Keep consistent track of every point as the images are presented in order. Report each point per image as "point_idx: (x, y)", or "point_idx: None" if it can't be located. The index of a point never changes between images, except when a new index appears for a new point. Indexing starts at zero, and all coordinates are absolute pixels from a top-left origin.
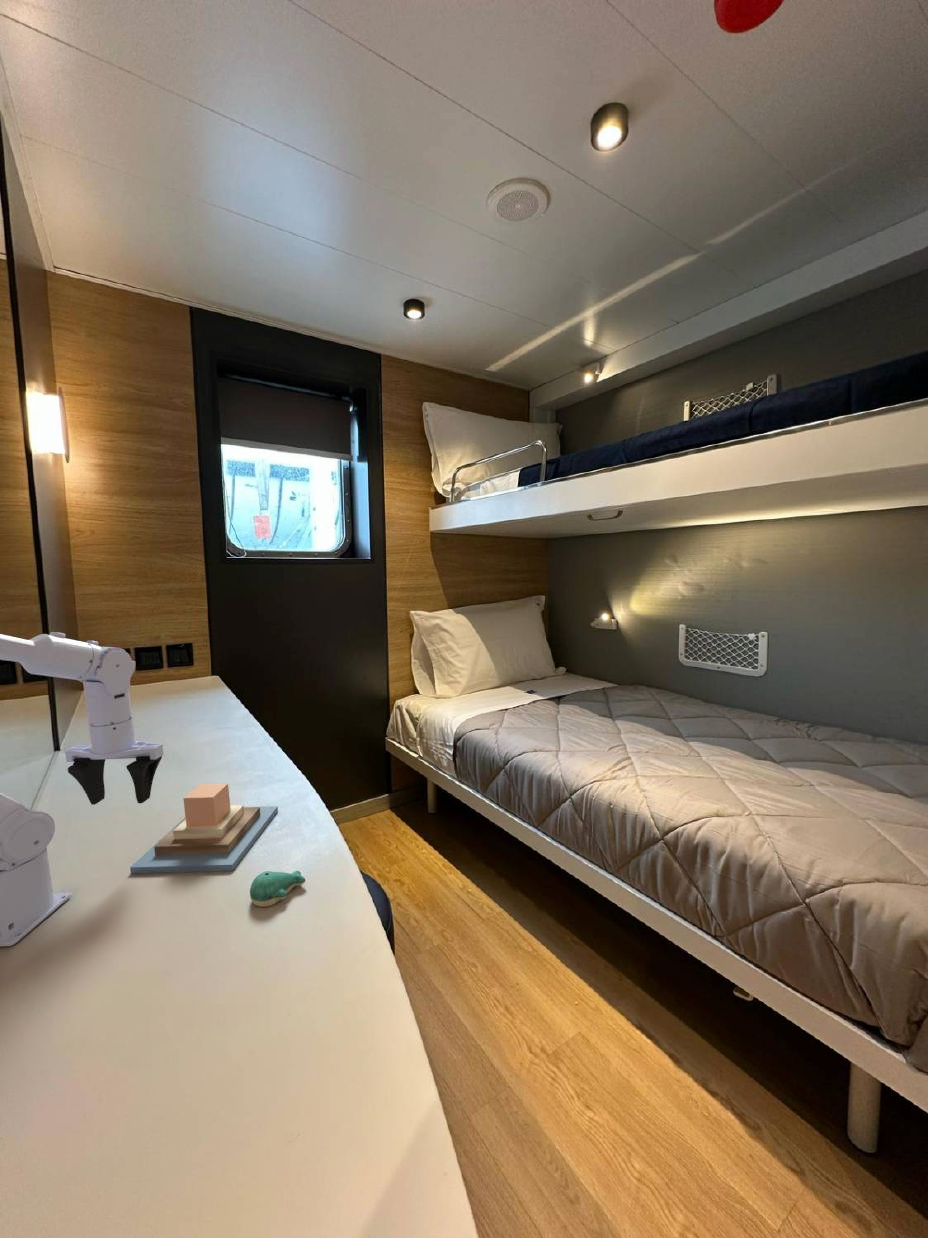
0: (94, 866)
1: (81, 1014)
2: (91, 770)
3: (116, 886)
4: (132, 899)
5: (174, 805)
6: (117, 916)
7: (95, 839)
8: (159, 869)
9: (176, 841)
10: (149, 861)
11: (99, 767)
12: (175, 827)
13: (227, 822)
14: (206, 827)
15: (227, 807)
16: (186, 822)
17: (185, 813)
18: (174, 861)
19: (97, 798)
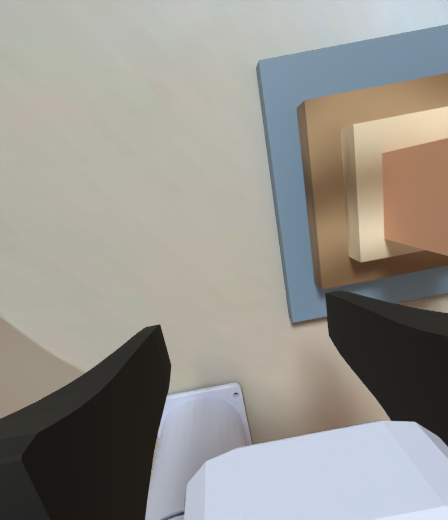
0: (195, 310)
1: None
2: (122, 508)
3: (291, 348)
4: (345, 368)
5: (149, 21)
6: (351, 399)
7: (93, 227)
8: None
9: (361, 263)
10: (317, 301)
11: (104, 440)
12: (315, 208)
13: None
14: None
15: None
16: (393, 240)
17: (413, 245)
18: (371, 294)
19: (164, 363)
